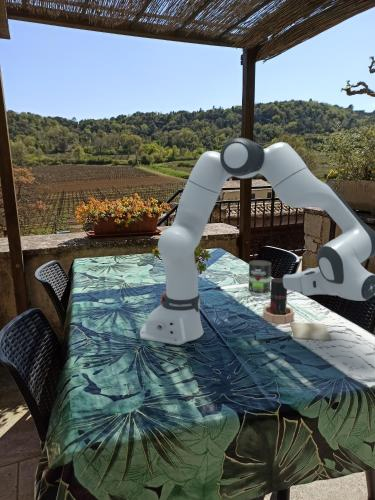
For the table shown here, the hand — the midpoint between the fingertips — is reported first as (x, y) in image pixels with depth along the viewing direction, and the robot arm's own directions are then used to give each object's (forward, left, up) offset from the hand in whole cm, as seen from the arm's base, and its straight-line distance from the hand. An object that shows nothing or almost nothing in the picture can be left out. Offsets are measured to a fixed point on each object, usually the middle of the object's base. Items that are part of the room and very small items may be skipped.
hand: (296, 273), depth 118 cm
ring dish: (-5, +8, -20) cm, 22 cm away
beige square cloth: (+5, -3, -20) cm, 21 cm away
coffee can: (-11, +38, -20) cm, 45 cm away
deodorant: (-5, +8, -20) cm, 23 cm away
